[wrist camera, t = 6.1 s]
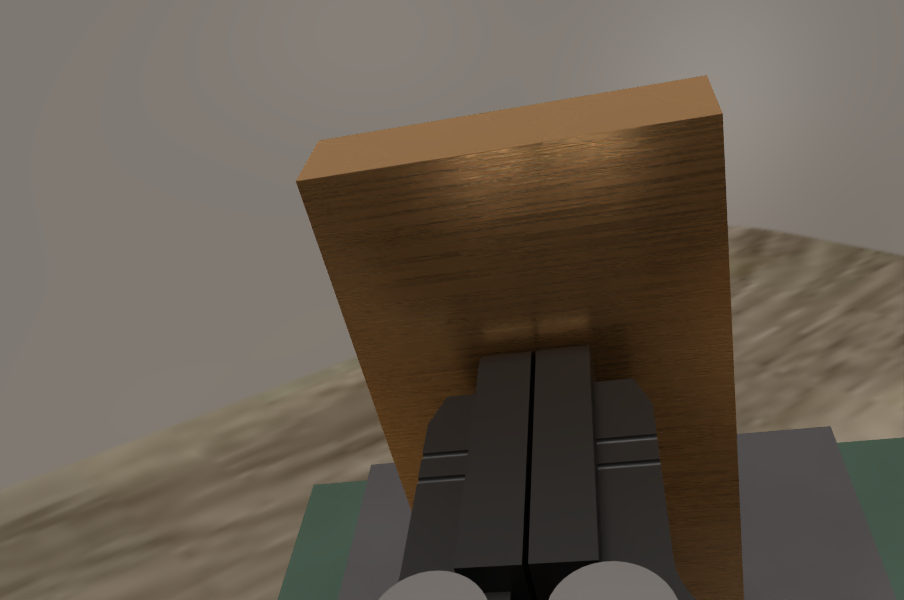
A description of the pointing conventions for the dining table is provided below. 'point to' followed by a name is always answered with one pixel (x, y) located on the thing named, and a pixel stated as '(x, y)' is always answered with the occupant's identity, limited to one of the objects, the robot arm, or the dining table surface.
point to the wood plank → (550, 275)
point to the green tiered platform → (761, 511)
